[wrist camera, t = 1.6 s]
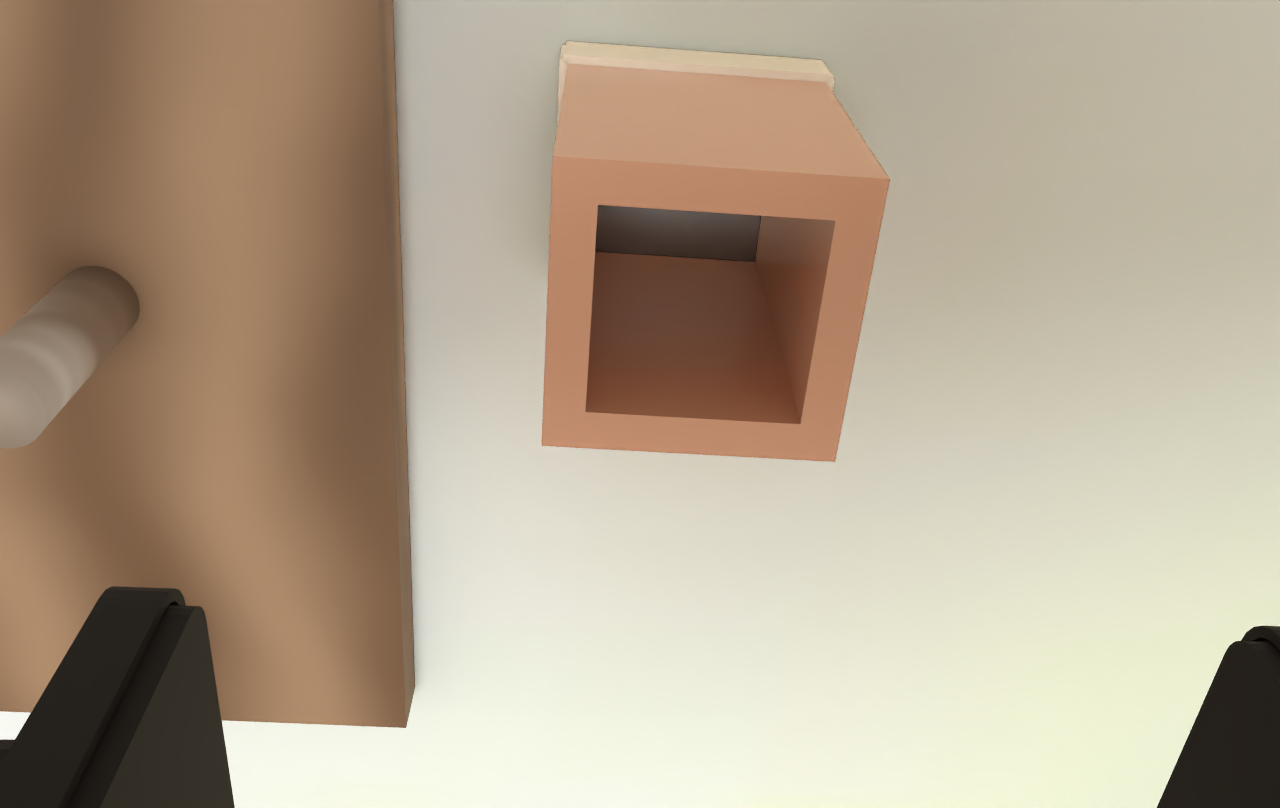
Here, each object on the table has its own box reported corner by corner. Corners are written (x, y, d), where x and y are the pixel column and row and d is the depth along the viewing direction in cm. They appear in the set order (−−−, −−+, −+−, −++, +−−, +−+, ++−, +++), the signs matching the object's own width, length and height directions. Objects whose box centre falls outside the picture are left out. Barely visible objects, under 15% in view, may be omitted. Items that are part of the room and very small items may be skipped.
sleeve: (825, 59, 23) (902, 169, 16) (788, 300, 25) (842, 470, 19) (562, 40, 22) (542, 144, 16) (552, 284, 25) (531, 452, 19)
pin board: (381, -357, 19) (292, -403, 14) (414, 686, 31) (373, 874, 26) (-357, -426, 18) (-744, -501, 13) (-32, 668, 30) (-167, 856, 25)
